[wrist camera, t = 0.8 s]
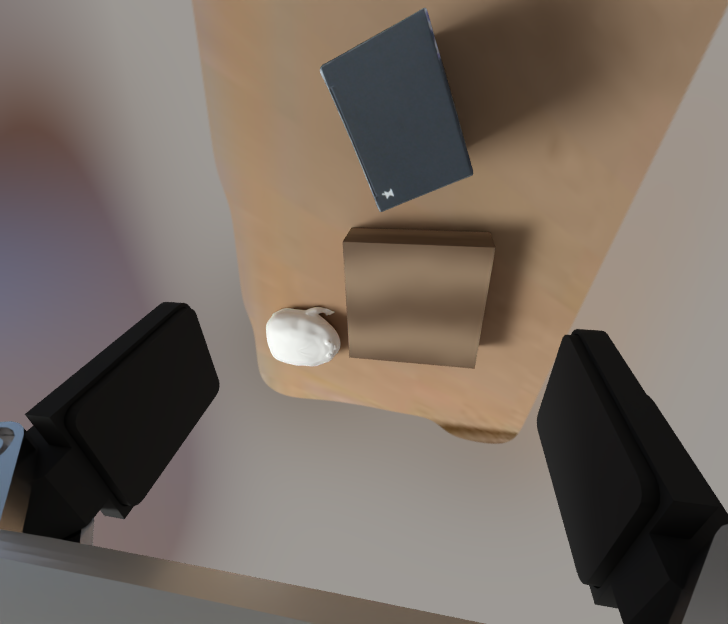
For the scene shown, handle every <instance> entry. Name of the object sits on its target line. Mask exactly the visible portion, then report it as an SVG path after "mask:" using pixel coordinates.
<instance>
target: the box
mask: <svg viewBox="0 0 728 624" xmlns="http://www.w3.org/2000/svg"><path fill="white" fill-rule="evenodd" d="M320 73H321V75H322V77H323V79H324V81H325V83H326V85H327V87H328V89H329V92H330V94H331V96H332V98H333V100H334V103H335V105H336V107H337V110H338V112H339V114H340V117H341V119H342V121H343V124H344V126H345V128H346V130H347V133H348V135H349V137H350V140H351V142H352V145H353V147H354V150H355V152H356V155H357V157H358V159H359V162H360V164H361V166H362V169H363V171H364V174H365V177H366V179H367V181H368V184H369V186H370V189H371V191H372V194H373V197H374V199H375V202H376V205H377V207H378V209H379V211H380V212H383V211H385V210H388V209H390V208H392V207H395V206H397V205H400V204H402V203H404V202H407V201H409V200H412V199H414V198H417V197H419V196H422V195H424V194H427V193H429V192H432V191H434V190H437V189H439V188H442V187H444V186H447V185H449V184H452V183H454V182H457V181H459V180H462V179H464V178H467V177H470V176H472V175H473V169H472V166H471V162H470V158H469V155H468V151H467V147H466V144H465V140H464V137H463V133H462V130H461V126H460V123H459V119H458V115H457V112H456V108H455V105H454V101H453V98H452V94H451V91H450V87H449V84H448V80H447V77H446V73H445V70H444V67H443V63H442V60H441V57H440V53H439V50H438V47H437V43H436V40H435V36H434V33H433V29H432V26H431V22H430V19H429V15H428V12H427V9H426V8H423V9H421V10H419V11H418V12H416V13H414V14H413V15H411V16H409V17H407V18H406V19H404V20H402V21H400V22H399V23H397V24H395V25H393V26H391V27H390V28H388V29H386V30H384V31H382V32H381V33H379V34H377V35H375V36H374V37H372V38H370V39H368V40H366V41H365V42H363V43H361V44H359V45H358V46H356V47H354V48H352V49H350V50H349V51H347V52H345V53H343V54H341V55H340V56H338V57H336V58H334V59H332V60H331V61H329V62H327V63H325V64H323V65H322V66H321V68H320Z"/></svg>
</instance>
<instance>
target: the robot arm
mask: <svg viewBox="0 0 728 624" xmlns="http://www.w3.org/2000/svg"><path fill="white" fill-rule="evenodd" d="M218 391H219V379H218V377H217V374H216V371H215V368H214V365H213V362H212V359H211V356H210V353H209V350H208V348H207V344H206V341H205V339H204V336H203V333H202V330H201V327H200V324H199V321H198V318H197V315H196V313H195V311H194V310H193V309H191V308H190V306H188V304H185V303H175V302H163V303H161V304H160V305H159V306H157V307H156V308H155V309H154V310H152V311H151V312H150V313H149V314H147V315H146V316H145V317H144V318H143V319H142V320H140V321H139V322H138V323H136V324H135V325H134V326H133V327H131V328H130V329H129V330H128V331H127V332H125V333H124V334H123V335H122V336H120V337H119V338H118V339H117V340H115V341H114V342H113V343H112V344H111V345H109V346H108V347H107V348H106V349H104V350H103V351H102V352H101V353H99V354H98V355H97V356H96V357H95V358H93V359H92V360H91V361H90V362H88V363H87V364H86V365H85V366H84V367H82V368H81V369H80V370H79V371H77V372H76V373H75V374H74V375H72V376H71V377H70V378H69V379H68V380H66V381H65V382H64V383H63V384H61V385H60V386H59V387H58V388H56V389H55V390H54V391H53V392H52V393H50V394H49V395H48V396H47V397H45V398H44V399H43V400H42V401H41V402H39V403H38V404H37V405H36V406H34V407H33V408H32V409H31V410H30V411H28V412H27V413H26V414H25V415H26V416H27V418H28V419H29V420H30V421H31V423H32V424H33V425H34V426H32V427H31V428H30V429H29V430H28V431H26V430H25V429H24V428H23V427H22V426H21V425H20V424H19V423H16V422H12V421H9V422H0V624H484V623H479V622H474V621H469V620H464V619H459V618H454V617H449V616H445V615H440V614H435V613H430V612H425V611H420V610H415V609H410V608H405V607H400V606H395V605H390V604H385V603H380V602H376V601H371V600H365V599H361V598H355V597H351V596H346V595H341V594H336V593H331V592H326V591H321V590H316V589H311V588H306V587H301V586H296V585H291V584H286V583H281V582H276V581H271V580H266V579H261V578H256V577H251V576H246V575H240V574H236V573H231V572H225V571H220V570H215V569H210V568H205V567H200V566H195V565H190V564H185V563H180V562H174V561H170V560H164V559H159V558H154V557H148V556H144V555H138V554H133V553H128V552H122V551H117V550H112V549H107V548H102V547H96V546H93V529H94V517H95V516H96V514H97V513H98V512H99V511H100V510H101V512H102V513H103V514H104V515H105V516H110V517H116V518H121V519H125V518H126V516H127V515H128V514H129V512H130V511H131V509H132V508H133V507H134V506H135V505H138V504H139V503H140V502H141V501H142V500H143V499H144V498H145V496H146V495H147V493H148V492H149V490H150V489H151V488H152V486H153V485H154V483H155V482H156V480H157V479H158V478H159V476H160V475H161V473H162V472H163V471H164V469H165V468H166V466H167V465H168V463H169V462H170V461H171V459H172V458H173V456H174V455H175V453H176V452H177V451H178V449H179V448H180V446H181V445H182V443H183V442H184V441H185V439H186V438H187V436H188V435H189V433H190V432H191V431H192V429H193V428H194V426H195V425H196V424H197V422H198V421H199V419H200V418H201V416H202V415H203V413H204V412H205V411H206V409H207V408H208V406H209V405H210V404H211V402H212V401H213V399H214V398H215V396H216V395H217V393H218ZM537 428H538V433H539V436H540V440H541V444H542V447H543V451H544V454H545V458H546V462H547V465H548V469H549V472H550V476H551V479H552V483H553V487H554V491H555V494H556V498H557V501H558V505H559V509H560V512H561V516H562V520H563V523H564V527H565V530H566V534H567V537H568V541H569V544H570V548H571V552H572V555H573V559H574V563H575V567H576V570H577V573H578V576H579V578H580V580H581V582H582V583H583V584H587V585H589V586H590V589H591V593H592V596H593V599H594V603H595V604H596V605H602V606H607V607H613V608H618V609H619V612H620V615H621V618H622V621H623V623H624V624H728V513H727V512H726V511H725V509H724V507H723V506H722V504H721V503H720V501H719V500H718V498H717V497H716V495H715V494H714V492H713V491H712V489H711V488H710V486H709V485H708V483H707V482H706V480H705V479H704V477H703V475H702V474H701V472H700V471H699V469H698V468H697V466H696V465H695V463H694V462H693V460H692V459H691V457H690V456H689V454H688V453H687V451H686V450H685V449H684V447H683V445H682V444H681V442H680V441H679V439H678V437H677V436H676V434H675V433H674V431H673V430H672V428H671V427H670V425H669V424H668V422H667V421H666V419H665V418H664V416H663V415H662V413H661V412H660V410H659V409H658V407H657V406H656V404H655V402H654V401H653V400H652V399H651V398H650V397H649V396H648V395H647V394H646V393H645V391H644V390H643V388H642V387H641V385H640V384H639V382H638V381H637V379H636V377H635V376H634V374H633V373H632V371H631V370H630V368H629V367H628V365H627V364H626V362H625V361H624V359H623V358H622V356H621V354H620V353H619V351H618V350H617V348H616V347H615V345H614V344H613V342H612V341H611V339H610V338H609V336H608V334H607V333H606V332H604V331H598V330H583V329H576V330H574V331H573V332H572V334H571V335H565V336H564V337H563V339H562V341H561V344H560V347H559V350H558V353H557V357H556V360H555V363H554V366H553V369H552V372H551V375H550V378H549V382H548V384H547V388H546V391H545V394H544V397H543V400H542V403H541V406H540V409H539V412H538V417H537Z"/></svg>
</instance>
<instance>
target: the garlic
mask: <svg viewBox="0 0 728 624" xmlns="http://www.w3.org/2000/svg"><path fill="white" fill-rule="evenodd" d="M319 313H325V314H326V316H327V315H328V314H329V315H331V314H332V313H334V312H333V311H331V310H329V309H326V308H322V307H314V308H310V309H308V310H299V309H292V308H284V309H281V310H279V311H277V312H275V313H273V315H272V317H271V318H270V319H269V321H268V322H267V325H266V335H267V342H268V345H269V348H270V351H271V353H272V355H273V356H274V357H275V358H276V359H277V360H279V361H282V362H285V363H288V364H293V365H297V366H301V365H305V366H317V365H320V364H323V363H326V362H329V361H330V360H331V359H332V358H333V357H334V356H335V355H336V353H338V351H339V349H340V338H339V336H338V334H337V332H336V330H335V329H334V328H333V327H332V326H331V325H330V324H329V323H328V322H327V321H326V320H325V319H324V318H322V317H321V316H320V315H318V314H319Z"/></svg>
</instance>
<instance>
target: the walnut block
mask: <svg viewBox="0 0 728 624" xmlns="http://www.w3.org/2000/svg"><path fill="white" fill-rule="evenodd" d="M494 253H495V245H494V242H493V239H492V237H491V234H490V232H469V231H438V230H406V229H375V228H351V229H350V231H349V233H348V234H347V236H346V237H345V239H344V241H343V256H344V273H345V290H346V307H347V324H348V341H349V357H351V358H362V359H373V360H384V361H395V362H407V363H418V364H429V365H440V366H451V367H462V368H473V369H475V363H476V357H477V352H478V346H479V340H480V334H481V329H482V323H483V317H484V311H485V305H486V300H487V294H488V288H489V282H490V277H491V271H492V265H493V259H494Z"/></svg>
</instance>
